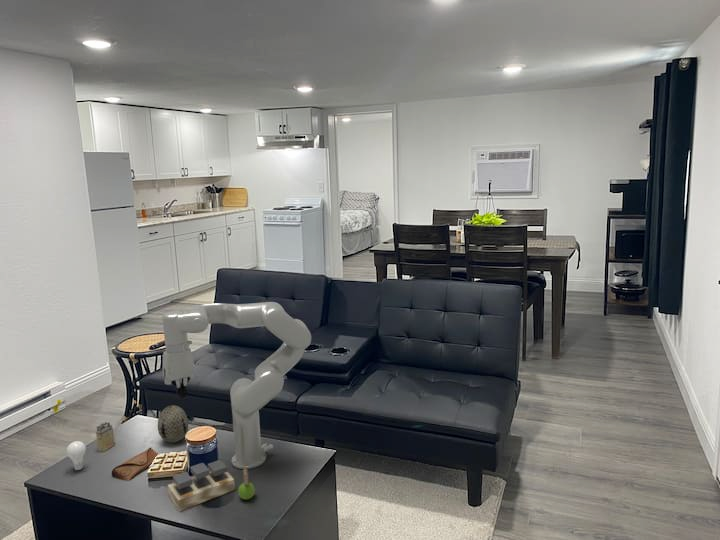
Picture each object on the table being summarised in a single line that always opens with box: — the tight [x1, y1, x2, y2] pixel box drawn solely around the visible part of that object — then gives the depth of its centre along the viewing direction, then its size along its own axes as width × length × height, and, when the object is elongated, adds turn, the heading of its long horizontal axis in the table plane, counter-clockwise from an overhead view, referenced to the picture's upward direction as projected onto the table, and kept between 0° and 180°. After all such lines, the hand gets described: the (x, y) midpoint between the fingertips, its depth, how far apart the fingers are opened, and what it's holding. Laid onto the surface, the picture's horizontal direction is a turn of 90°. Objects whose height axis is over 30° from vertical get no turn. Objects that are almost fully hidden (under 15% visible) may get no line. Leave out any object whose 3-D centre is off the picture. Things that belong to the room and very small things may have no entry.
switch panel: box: [167, 471, 236, 512], centre depth 188 cm, size 19×11×4 cm, turn 126°
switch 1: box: [172, 471, 193, 489], centre depth 184 cm, size 4×6×3 cm
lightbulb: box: [66, 440, 87, 471], centre depth 204 cm, size 6×6×11 cm
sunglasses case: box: [111, 447, 159, 482], centre depth 206 cm, size 18×7×7 cm, turn 153°
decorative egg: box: [157, 404, 189, 443], centre depth 223 cm, size 12×12×15 cm
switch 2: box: [207, 459, 228, 476], centre depth 191 cm, size 4×6×3 cm
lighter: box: [95, 421, 116, 452], centre depth 220 cm, size 7×4×10 cm, turn 156°
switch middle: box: [190, 462, 210, 479], centre depth 187 cm, size 4×6×3 cm
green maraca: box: [237, 468, 256, 500], centre depth 183 cm, size 5×6×12 cm
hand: (181, 396), depth 197 cm, fingers closed
